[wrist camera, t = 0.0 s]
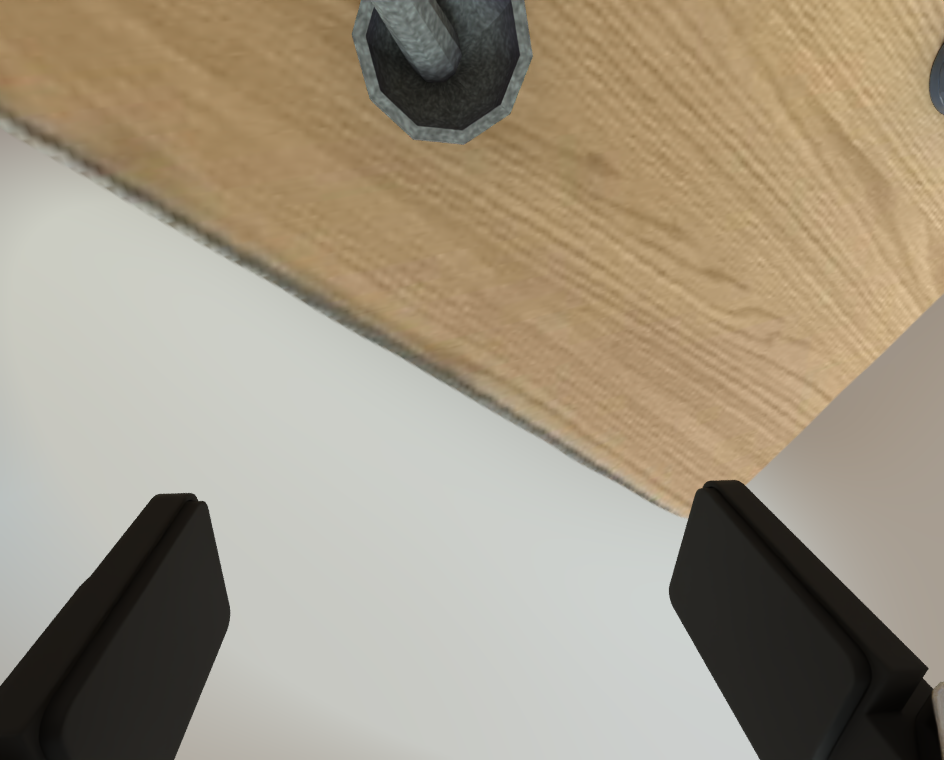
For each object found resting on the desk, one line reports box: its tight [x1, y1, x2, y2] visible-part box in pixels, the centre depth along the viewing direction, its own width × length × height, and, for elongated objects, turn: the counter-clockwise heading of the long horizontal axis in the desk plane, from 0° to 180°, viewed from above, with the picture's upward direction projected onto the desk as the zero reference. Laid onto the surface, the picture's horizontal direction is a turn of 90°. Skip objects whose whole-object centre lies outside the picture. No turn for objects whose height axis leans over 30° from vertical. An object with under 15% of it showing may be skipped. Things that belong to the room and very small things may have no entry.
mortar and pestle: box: [352, 0, 533, 145], centre depth 27 cm, size 11×9×12 cm
